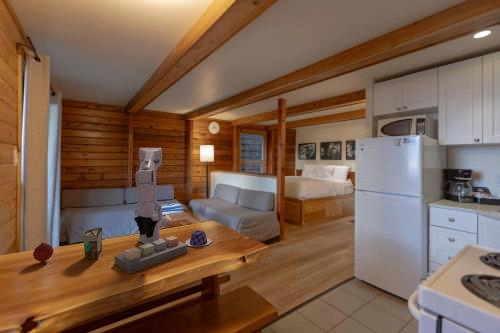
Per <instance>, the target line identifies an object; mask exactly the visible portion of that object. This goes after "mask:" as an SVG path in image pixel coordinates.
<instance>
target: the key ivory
mask: <svg viewBox="0 0 500 333" xmlns="http://www.w3.org/2000/svg"><path fill="white" fill-rule="evenodd" d="M138 248H139V247H132V248H128V249H125V250H124V252H123V253H124V258H126V259H127V260H129V261H130V260H133V259H136V258H139V257H141V252H140V249H138Z"/></svg>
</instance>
